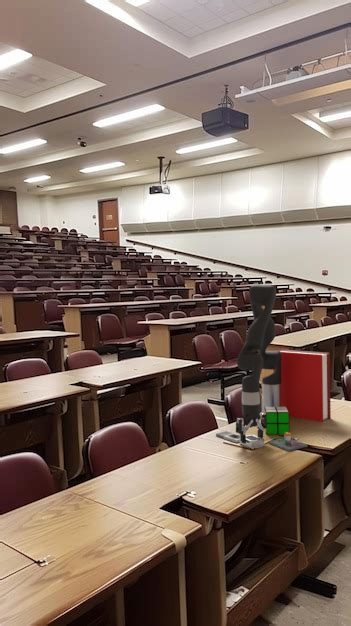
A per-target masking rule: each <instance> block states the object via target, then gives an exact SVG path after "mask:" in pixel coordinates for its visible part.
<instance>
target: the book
mask: <svg viewBox="0 0 351 626" xmlns="http://www.w3.org/2000/svg"><path fill="white" fill-rule="evenodd" d="M273 351H280V353H281V357H282V362H281V389H282V407H286V408H287V410H288V412H289V417H291V418H298V419H304V420H307V421H314V422H320V423H324V420H326V419H332V418H331V414H332V413H331V353H330V352H321V351H311V350H310V351H307V350H294V349H293V350H291V349H275V350H273ZM274 372H275V370H273V371H272V373H274Z"/></svg>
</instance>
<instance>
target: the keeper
mask: <svg viewBox="0 0 351 626" xmlns="http://www.w3.org/2000/svg"><path fill="white" fill-rule="evenodd" d="M268 444H269V445H271V444H272V446H273V447H276V446H277V447H276V448H279V449H281V448H282V450H283V451H286V450H287V451H286V452H291V451H290V450H292V451H296V450H299V449H304V448H308V444H306V443H303V442H301V441H298V440H295V439H293V438H292V437H291V432H290V431H289V432H285V435H284V437H282V438H281V437H280V438H278V439H273V440H269V441H268Z"/></svg>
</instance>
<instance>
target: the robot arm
mask: <svg viewBox="0 0 351 626" xmlns="http://www.w3.org/2000/svg"><path fill="white" fill-rule="evenodd" d="M248 297H249V303H250V308H251V312H252V316H253V322H252V323H251V324H250V325H249V327H248V330H247V333H246V338H245V342H244V344H243V347H241V350H240V351H239V354H238V356H237V359H236V365H237V367H238V369H239V370H241V371H249V372H252V374H251V375H246V376H244V377H242V379H241V413H242V417H241V418H239V417H237V418H235V433H236V434H239V435H240V441H241V442H242V443H243V444H245V443H246V435H247V431H249V429H250V428H253V427H254V428H255V427H256V428H257V436H258V437H260V438H263V439H264V431H265V428H267V418H266V414H264V407H282V389H281V362H282V357H281V353H280V351H274V350H267V348H268V347H269V345H271V343H273V341H274V340H275V338H276V335H277V333H276V324H275V321H274V320H273V318H272V317H271V315H272V312H273V309H274V306H275V304H276V303H275V302H276V298H277V289H276V286H275V285H272V284H271V285H270V284H260V283H259V284H252V285H251V286H250V287H249V291H248ZM263 307H264V308H263ZM254 352H257V353H254ZM263 370H271V371H272V370H275V372H274V373H273V372H272V373H270V374H269V375H265V376H263V377H262V380H261V375H262V371H263ZM260 381H262V383H261V385H262V389H261V390H262V397H261V393H260V391H261V390H260Z"/></svg>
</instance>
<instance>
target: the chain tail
mask: <svg viewBox="0 0 351 626" xmlns="http://www.w3.org/2000/svg"><path fill="white" fill-rule="evenodd" d="M215 436H216V437H217V438H218V437H219V438H221V439H224V440H227V441H229V442H232V443H235V442H236V443H235V444H238V442H239V443H240V434H239V433H237V432H230V431H227V430H225V431H220V432H218V433H215Z"/></svg>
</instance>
